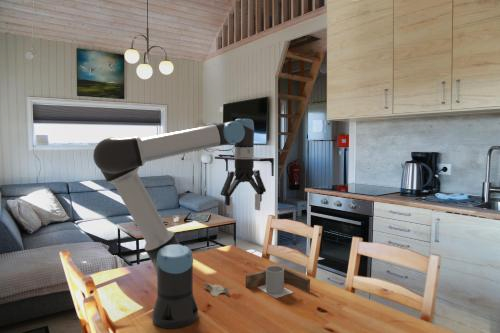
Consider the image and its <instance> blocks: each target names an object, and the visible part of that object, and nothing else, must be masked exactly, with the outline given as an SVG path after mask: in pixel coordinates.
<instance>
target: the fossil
mask: <svg viewBox="0 0 500 333" xmlns="http://www.w3.org/2000/svg"><path fill="white" fill-rule="evenodd" d="M203 284H204V285H205V286H204V287H203V289H205V290H207V291H209V292H210V294H211V296H212V297H214V298H215V297H218V296H219V295H220V294H222V293H223V294H225V295H226V296H229V295H230V292H229V291H230V290H229V288H228V286H224V287H223V286H222V285H220V284H211V283H209V282H203Z"/></svg>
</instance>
